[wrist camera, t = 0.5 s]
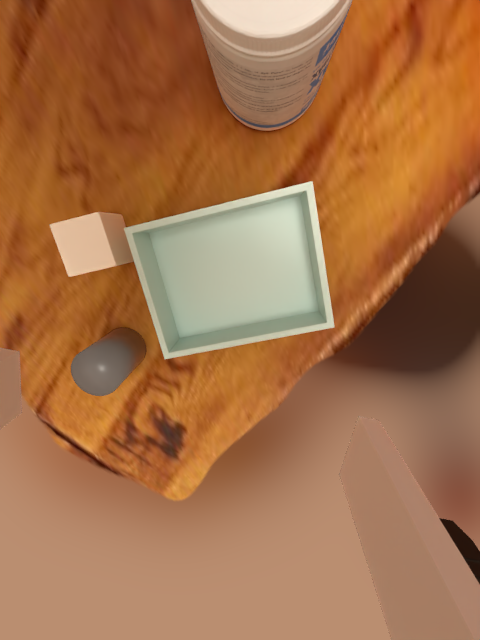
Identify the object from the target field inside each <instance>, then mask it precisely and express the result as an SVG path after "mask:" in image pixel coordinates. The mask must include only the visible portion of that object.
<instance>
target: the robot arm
mask: <svg viewBox="0 0 480 640" xmlns="http://www.w3.org/2000/svg"><path fill="white" fill-rule="evenodd" d="M21 413H22V403H21V378H20V352H19V351H15V350H9V349H4V348H0V429H2V428H3V427H4V426H5V425H7V424H8V423H9V422H11V421H12V420H13V419H15V418H16V417H17V416H19V415H20V414H21ZM339 475H340V479H341V482H342V485H343V488H344V491H345V494H346V498H347V501H348V504H349V507H350V510H351V514H352V517H353V520H354V523H355V526H356V529H357V533H358V536H359V539H360V542H361V545H362V548H363V552H364V555H365V558H366V561H367V564H368V567H369V571H370V574H371V577H372V580H373V583H374V586H375V590H376V593H377V596H378V599H379V602H380V605H381V609H382V612H383V615H384V618H385V621H386V624H387V628H388V631H389V634H390V637H391V640H480V551H479V550H478V548H477V547H476V545H475V544H474V542H473V541H472V540H471V539H470V538H469V537H468V536H467V535H466V534H465V533H464V532H463V531H462V530H461V529H460V528H459V527H458V526H457V525H456V524H455V523H454V522H453V521H450V520H446V519H440V518H439V517H438V516H437V514H436V512H435V511H434V509H433V508H432V506H431V504H430V503H429V501H428V499H427V498H426V496H425V494H424V493H423V491H422V490H421V488H420V486H419V485H418V483H417V482H416V480H415V478H414V477H413V475H412V473H411V472H410V470H409V468H408V467H407V465H406V464H405V462H404V461H403V459H402V457H401V455H400V454H399V452H398V451H397V449H396V447H395V446H394V444H393V442H392V441H391V439H390V438H389V436H388V434H387V433H386V431H385V429H384V428H383V426H382V425H381V423H380V421H379V420H377V419H372V418H366V417H361V416H358V419H357V423H356V425H355V428H354V431H353V434H352V437H351V440H350V443H349V446H348V449H347V452H346V455H345V459H344V461H343V464H342V468H341V470H340V473H339Z"/></svg>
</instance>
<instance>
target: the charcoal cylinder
mask: <svg viewBox="0 0 480 640" xmlns="http://www.w3.org/2000/svg"><path fill="white" fill-rule="evenodd" d="M145 354H146V344H145V342H144V340H143V338H142V337H141V335H140V334H139V333H137V332H136V331H134V330H132V329H130V328H117V329H115V330H113V331H111V332H110V333H108V334H107V335H105V336H104V337H102V338H101V339H100V340H98V341H97V342H95V343H94V344H92V345H91V346H89V347H88V348H86V349H85V350H83V351H82V352H80V353H79V354H78V355H76V357H75V358H74V359H73V361H72V365H71V373H72V377H73V379H74V381H75V383H76V384H77V385H78V386H79V387H80V388H81V389H82V390H83V391H85V392H87V393H89V394H91V395H96V396H104V395H108V394H110V393H112V392H113V391H115V390H116V388H117V387H118V386H119V385H120V384H121V383H122V382H123V381H124V380H125V379H126V378H127V377H128V375H129V374H130V373H131V372H132V371H133V370H134V369H135V368H136V367H137V366H138V365H139V363H140V362H141V361H142V360H143V359H144V357H145Z"/></svg>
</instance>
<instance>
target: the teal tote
mask: <svg viewBox="0 0 480 640" xmlns="http://www.w3.org/2000/svg"><path fill="white" fill-rule="evenodd" d="M124 231H125V234H126V237H127V240H128V243H129V247H130V250H131V253H132V256H133V259H134V263H135V266H136V269H137V272H138V275H139V279H140V282H141V285H142V288H143V291H144V295H145V298H146V301H147V304H148V307H149V311H150V314H151V317H152V320H153V323H154V327H155V330H156V333H157V336H158V339H159V343H160V346H161V349H162V352H163V355H164V359H169V358H174V357H179V356H185V355H190V354H195V353H201V352H206V351H211V350H217V349H222V348H227V347H233V346H238V345H243V344H248V343H254V342H259V341H264V340H270V339H275V338H280V337H286V336H291V335H296V334H302V333H307V332H312V331H318V330H323V329H328V328H333V327H334V320H333V314H332V307H331V300H330V294H329V287H328V281H327V274H326V267H325V261H324V254H323V247H322V241H321V234H320V228H319V221H318V214H317V208H316V201H315V194H314V188H313V181H311V182H307V183H303V184H299V185H295V186H291V187H287V188H283V189H279V190H275V191H271V192H267V193H263V194H259V195H255V196H251V197H247V198H243V199H239V200H235V201H231V202H227V203H223V204H219V205H215V206H211V207H207V208H203V209H199V210H195V211H191V212H187V213H183V214H178V215H174V216H170V217H166V218H162V219H158V220H154V221H150V222H146V223H142V224H138V225H134V226H130V227H126V228H124Z"/></svg>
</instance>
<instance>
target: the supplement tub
mask: <svg viewBox="0 0 480 640" xmlns="http://www.w3.org/2000/svg"><path fill="white" fill-rule="evenodd" d="M191 2H192V5H193V8H194V11H195V15H196V18H197V21H198V24H199V27H200V31H201V34H202V37H203V40H204V43H205V47H206V50H207V53H208V56H209V60H210V63H211V66H212V69H213V73H214V76H215V79H216V82H217V86H218V89H219V92H220V94H221V97H222V99H223V101H224V103H225V105H226V107H227V108H228V110H229V111H230V112H231V114H232V115H233V116H234V117H235V118H236V119H237V120H239V121H240V122H241V123H243V124H244V125H246V126H248V127H250V128H253V129H257V130H263V131H271V130H277V129H280V128H283V127H286V126H288V125H289V124H291V123H293V122H295V121H296V120H297V119H298V118H300V117H301V116H302V115H303V114H304V113H305V112H306V110H307V109H308V108H309V107H310V105H311V104H312V102H313V100H314V98H315V97H316V94H317V92H318V89H319V87H320V85H321V82H322V79H323V77H324V74H325V72H326V69H327V66H328V64H329V61H330V58H331V56H332V53H333V51H334V48H335V45H336V43H337V40H338V37H339V35H340V32H341V29H342V27H343V24H344V22H345V19H346V16H347V13H348V11H349V8H350V6H351V3H352V0H191Z"/></svg>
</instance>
